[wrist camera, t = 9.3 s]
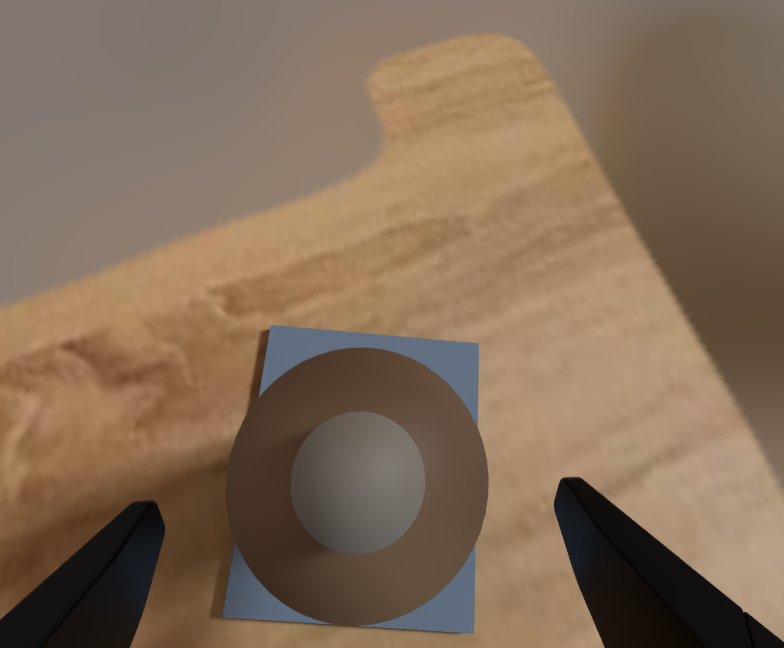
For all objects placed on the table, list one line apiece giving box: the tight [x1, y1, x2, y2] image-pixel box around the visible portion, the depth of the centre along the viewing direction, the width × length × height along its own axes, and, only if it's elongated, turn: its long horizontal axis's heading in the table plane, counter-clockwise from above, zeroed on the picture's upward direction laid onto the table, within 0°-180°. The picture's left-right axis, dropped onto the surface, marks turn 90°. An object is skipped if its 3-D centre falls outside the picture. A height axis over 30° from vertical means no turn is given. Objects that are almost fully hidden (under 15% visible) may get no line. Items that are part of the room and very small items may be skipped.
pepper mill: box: [226, 347, 488, 626], centre depth 12 cm, size 5×5×13 cm
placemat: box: [222, 325, 479, 633], centre depth 19 cm, size 12×10×1 cm
